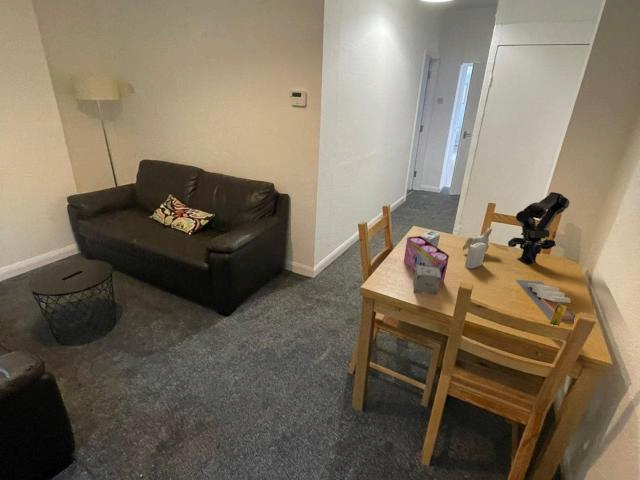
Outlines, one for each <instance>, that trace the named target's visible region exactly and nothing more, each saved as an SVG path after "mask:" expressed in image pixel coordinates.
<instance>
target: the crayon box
mask: <svg viewBox="0 0 640 480" xmlns="http://www.w3.org/2000/svg"><path fill="white" fill-rule="evenodd" d="M559 301H560V300H559ZM558 303H559V302H558ZM566 308H568V307H567V306H566V305H565V306H563V305H560V304H557V307H556V309H555V311H554V314H553V316H552V318H551V320H549V323H548V325H549V324H553V325H558V326H559V327H560V325H561V322H562V321H561V320H562V318H563V316H564V313H565V311H566Z"/></svg>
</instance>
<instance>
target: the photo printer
mask: <svg viewBox="0 0 640 480" xmlns="http://www.w3.org/2000/svg"><path fill="white" fill-rule="evenodd" d="M486 248H487V246H486V244H484V243H476V244H474V245H472V244H471V245H470V248H469V250H468V252H467V255H466V260H465V264H464V266H465V268H467V269H469V270H470V269H474V268H477V267H481V266H482V264H483V261H484V259H485V258H484V257H485V254H486V253H485V251H486ZM486 252H487V251H486Z"/></svg>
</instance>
